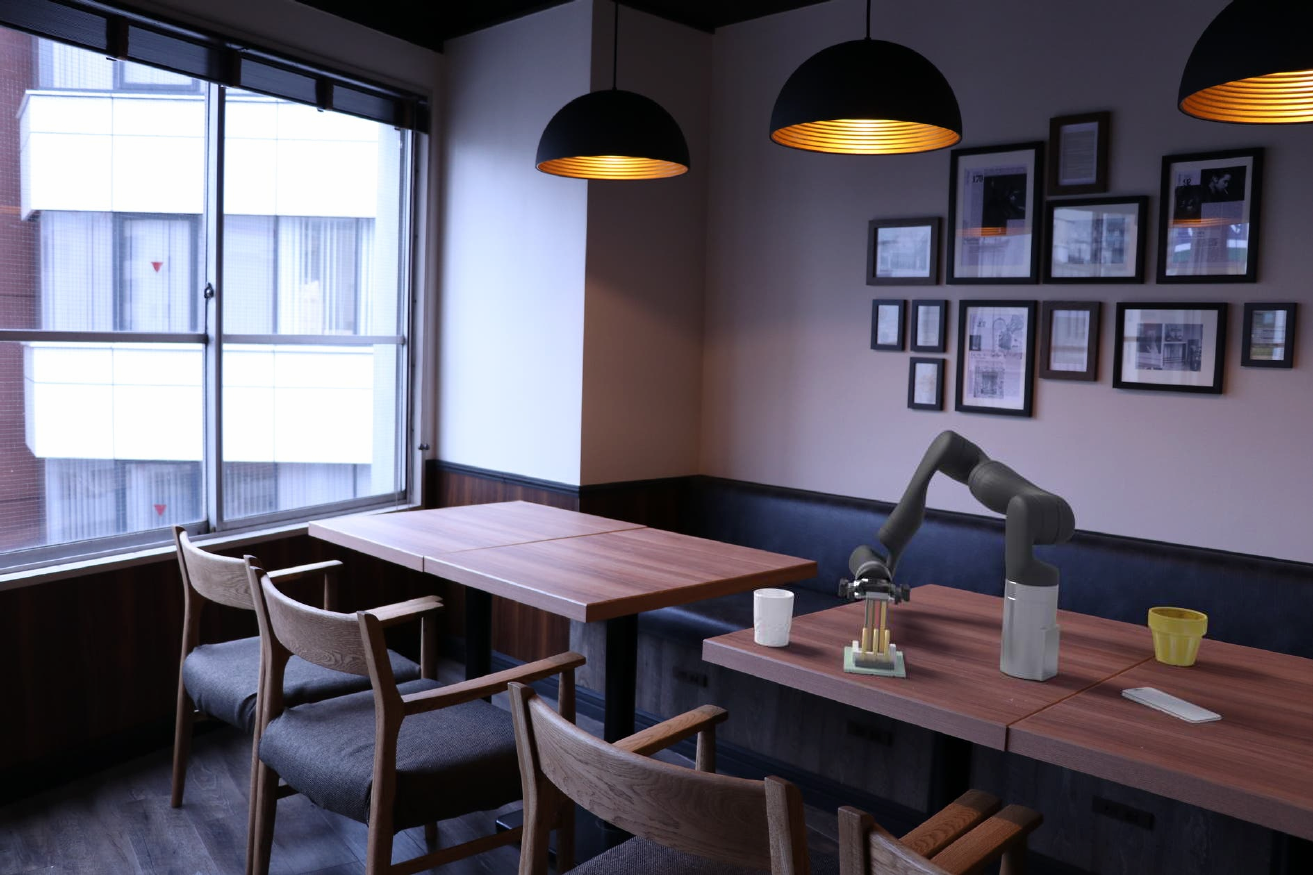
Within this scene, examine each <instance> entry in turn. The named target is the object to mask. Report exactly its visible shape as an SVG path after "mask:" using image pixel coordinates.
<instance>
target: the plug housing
mask: <svg viewBox="0 0 1313 875" xmlns="http://www.w3.org/2000/svg"><path fill="white" fill-rule="evenodd" d="M889 602H890V601H889V598H888V593H876V592H866V601H865V611H864V627H863V628H867V629H868V630H867V648H866V652H873V642H874V629H878V630H879V633H878V650H877V653H884V646H885V630H888V620H889V619H888V618H889V616H888V615H889Z"/></svg>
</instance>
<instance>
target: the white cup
mask: <svg viewBox="0 0 1313 875" xmlns="http://www.w3.org/2000/svg"><path fill="white" fill-rule="evenodd" d="M794 599H795V594H794V593H793V592H792V591H789V590H786V589H778V588H760V589H756V590H754V591H753V625H754V626H753V627H754V642H755V643H756V644H758V645H761V646H764V647H772V648H775V647H776V648H777V647H785V646H787V645H788V644H789V641H790V632H791V627H792V626H791V625H792V619H793V610H794V608H793V607H794Z"/></svg>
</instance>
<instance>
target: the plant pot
mask: <svg viewBox="0 0 1313 875" xmlns="http://www.w3.org/2000/svg"><path fill="white" fill-rule="evenodd" d="M1147 618H1148V619H1147V620H1148V621H1147V624H1148V627H1149V628H1150V629H1151V633H1152V634H1151V635H1152V638H1153V645H1154V651H1155V652H1154V653H1155V658H1156V660H1157V661H1158V662H1160V663H1162V664H1165V665H1170V666H1175V665H1177V667H1191V666H1192V665H1194V664H1195V661H1196V657H1197V655H1198V650H1199V648H1200V645H1201V642H1202V638H1203V636H1205V635H1206V634H1207V629H1208V619H1209V618H1208V615H1207V614H1204V613H1202V612H1199V611H1196V610H1192V609H1188V608H1186V609H1185V608H1180V607H1171V606H1161V607H1160V606H1157V607H1152V608H1149V610H1148V616H1147ZM1190 665H1191V666H1190Z"/></svg>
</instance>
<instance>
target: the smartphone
mask: <svg viewBox="0 0 1313 875" xmlns="http://www.w3.org/2000/svg"><path fill="white" fill-rule="evenodd" d="M1121 696H1122V697H1124V698H1127V699H1130V700H1131V701H1132V700H1133V701H1135V702H1137V703H1140V704H1142V705H1145V706H1147V707H1150V708H1153V709H1154V710H1156V711H1157V710H1158V711H1160V710H1161V711H1160V712H1162V711H1163V713H1165V714H1168V715H1170V716H1173V717H1175V718H1178V717H1179V718H1178V719H1181V720H1182V721H1186V722H1187V723H1193V724H1200V723H1206V722H1207V723H1208V722H1213V721H1220V720H1222V718H1223V716H1222V715H1221V714H1219V713H1216V712H1213V711H1211V710H1209V709H1206V708H1203V707H1200V706H1198V705H1196V704H1194V703H1191V702H1188V701H1185V700H1184V699H1181V698H1178V697H1176V696H1173V695H1171V694H1168V693H1166V692H1164V691H1161V690H1159V689H1156V688H1154V687H1150V686H1143V687H1137V688H1136V687H1135V688H1128V689H1123V690H1122V691H1121Z"/></svg>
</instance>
